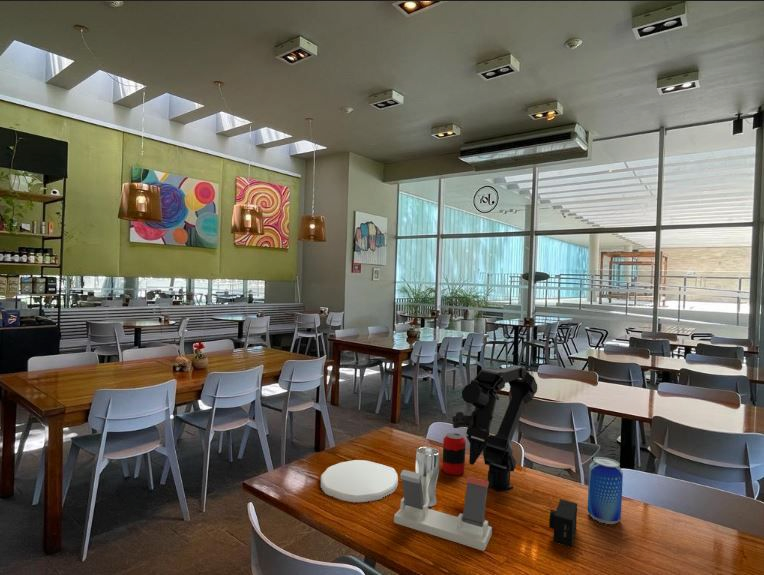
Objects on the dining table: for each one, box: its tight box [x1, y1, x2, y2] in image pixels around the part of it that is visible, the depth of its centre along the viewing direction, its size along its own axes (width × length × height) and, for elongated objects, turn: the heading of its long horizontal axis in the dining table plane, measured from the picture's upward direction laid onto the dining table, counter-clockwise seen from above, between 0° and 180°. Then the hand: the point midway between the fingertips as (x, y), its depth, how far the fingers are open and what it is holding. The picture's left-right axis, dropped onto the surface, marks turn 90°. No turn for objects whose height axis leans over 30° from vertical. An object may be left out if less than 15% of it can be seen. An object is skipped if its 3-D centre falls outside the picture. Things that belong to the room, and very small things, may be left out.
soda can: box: [441, 432, 467, 476], centre depth 149 cm, size 8×8×12 cm
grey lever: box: [400, 469, 424, 510], centre depth 115 cm, size 2×5×11 cm, turn 63°
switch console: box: [393, 496, 493, 552], centre depth 113 cm, size 8×24×5 cm, turn 63°
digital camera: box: [548, 498, 578, 548], centre depth 112 cm, size 10×5×7 cm, turn 150°
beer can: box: [587, 456, 624, 525], centre depth 121 cm, size 8×8×16 cm
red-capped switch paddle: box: [462, 476, 489, 527], centre depth 110 cm, size 2×5×11 cm, turn 63°
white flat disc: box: [320, 459, 399, 503], centre depth 137 cm, size 25×4×25 cm
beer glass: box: [414, 446, 440, 508], centre depth 126 cm, size 7×7×15 cm
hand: (471, 464), depth 125 cm, fingers open, 9 cm apart
